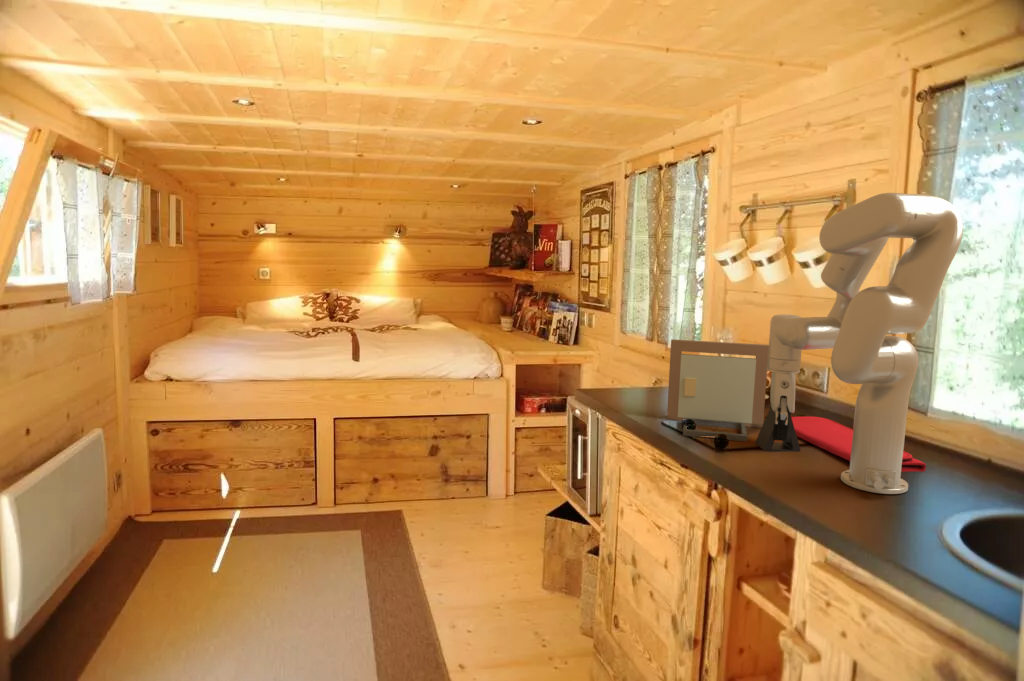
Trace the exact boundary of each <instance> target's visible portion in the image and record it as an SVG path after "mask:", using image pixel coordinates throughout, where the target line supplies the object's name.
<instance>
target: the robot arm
mask: <svg viewBox="0 0 1024 681" xmlns="http://www.w3.org/2000/svg"><path fill="white" fill-rule="evenodd" d="M960 214H961V213H959V211H958V209H957V208H956V207H955V206H954V205H953V204H952V203H951V202H949V201H948V200H947V199H945V198H942V197H939V196H935V195H929V194H920V193H902V192H899V193H898V192H884V193H878V194H876V195H873V196H870V197H868V198H866V199H864V200H862V201H859V202H857V203H855V204H852V205H851V206H848V207H846V208H844V209H841V210H840V211H838V212H836V213H834V214H833V215H831V216H830V217H829V218H827V219H826V221H825V222H824V223H823V224H822V227H821V229H820V230H819V231H820V232H819V244H820V247H821V248H822V250H823V251H825V253H829V254H830V256H829V258H828V260H827V262H826V264H825V265H824V268H823V269H822V271H821V274H820V278H821V279H820V280H822V281H821V282H823V283H824V285H825V286H827V287H828V288H829V289H830V290H832V291H834V292H835V293H836V294H835V295H836V297H835V302H834V304H833V306H832V308H831V309H830V311H829V312H828V314H827V316H811V317H802V316H799V315H796V314H795V315H794V314H786V313H785V314H783V313H782V314H775V315H773V316H772V317H771V319H770V322H769V323H770V324H769V335H768V336H769V338H768V345H769V349H768V363H767V372H768V371H769V372H771V381H770V395H769V397H770V399H769V400H770V401H771V407H772V410H773V411H774V412H775V423H774V426H773V428H774V429H773V440H775V441H782V442H783V441H786V440H787V432H788V425H787V424H788V410H789V412H791V415H793V414H794V413H795V412H796V411H795V410H796V409H795V408H796V407H795V406H796V405H795V403H796V384H797V382H796V381H797V380H796V379H797V378H796V377H797V376H796V374H799V373H800V372H801V361H802V353H803V352H802V351H809V350H823V349H825V350H826V349H829V350H830V349H832V352H831V355H830V356H831V357H830V358H831V359H830V364H831V369H832V371H833V374H834V375H835V376H836V378H837V379H838V380H840V381H841V382H843V383H846V384H850V385H851V384H852V385H861V386H860V388H859V390H858V392H857V396H856V400H855V409H854V415H853V416H854V418H853V426H852V428H853V438H852V448H851V459H850V461H849V469H847V470H844V471H842V472H841V474H840V480H841V481H842V483H844V484H845V485H847V486H849V487H851V488H854V489H857V490H861V491H864V492H869V493H875V494H881V495H882V494H883V495H900V494H904V493H906V492H908V490H909V482H907V481H906V480H905V479H903V478H901V476H902V472H901V468H902V458H903V451H904V448H905V437H906V428H907V417H908V410H909V402H910V396H911V395H910V394H911V390H912V387H913V382H914V380H915V377H916V375H917V370H918V367H919V356H918V351H917V349H916V348H915V346H914V345H913V344H912V343H911V342H910V341H909V340H908V339H905V338H904V337H901V336H897V335H903V334H904V335H905V334H913V333H916V332H918V331H920V330H922V329H923V328H924V326H925V325H926V323H927V321H928V320H929V317H930V315H931V313H932V309H933V308H934V305H935V302H936V300H937V298H938V295H939V293H940V290H941V288H942V285H943V282H944V280H945V278H946V274H947V272H948V271H949V270H948V269H949V268H950V267H951V264H952V262H953V260H954V258H955V256H956V254H957V253H958V250H959V248H960V245H961V242H962V238H963V232H964V226H963V220H962V218H961V215H960ZM889 238H890V239H891V238H893V239H895V238H896V239H912V241H913V242H912V244H911V245H910V246H909V247H908V248H907V249H906V250H905V251H904V253H903V254H902V255H901V256H900V258H899V260H898V262H897V263H896V265H895V269H894V272H893V274H892V277H891V279H890V281H889V283H888V284H887V285H885V286H884V285H879V286H870V287H867V288H864V289H862V290H861V287H862V286H863V283H864V282H865V280H866V279H867V277H868V275H869V274H870V271H871V270H872V269H873V267H874V265H875V263H876V262H877V260H878V258H879V256H880V254H881V253H882V251H883V250H884V248H885V246H886V245H887V243H888V240H889ZM770 401H769V402H770ZM779 408H780V410H781V411H778V409H779ZM778 414H780V415H779V416H778Z"/></svg>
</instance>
